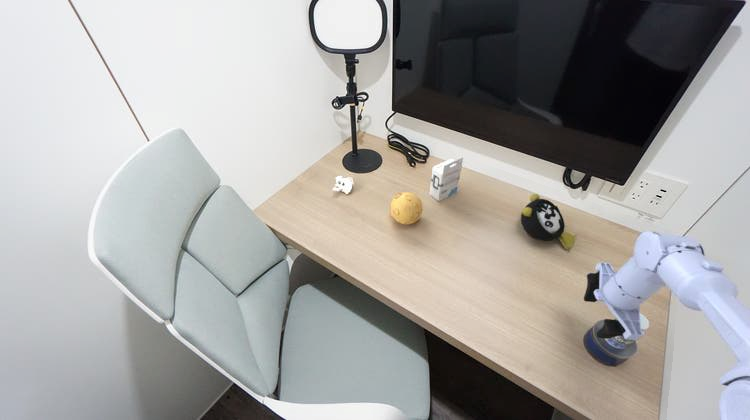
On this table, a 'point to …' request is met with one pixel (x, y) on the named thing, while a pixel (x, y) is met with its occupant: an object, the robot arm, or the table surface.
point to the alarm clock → (545, 222)
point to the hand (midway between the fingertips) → (595, 317)
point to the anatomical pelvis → (347, 184)
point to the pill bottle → (623, 343)
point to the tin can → (606, 348)
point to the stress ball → (406, 208)
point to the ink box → (445, 179)
